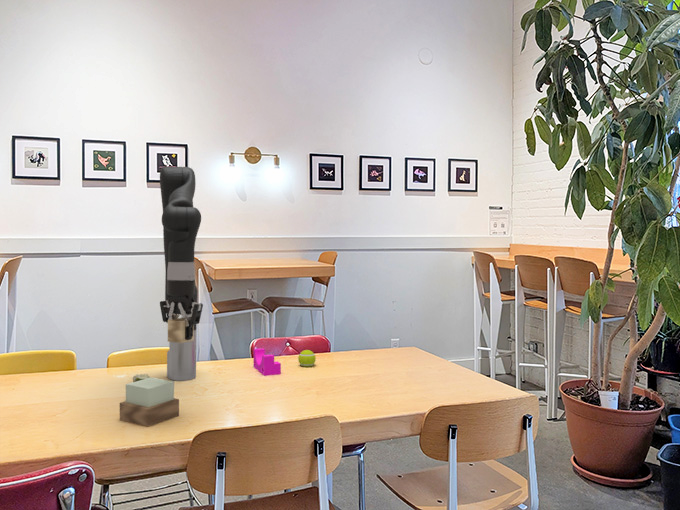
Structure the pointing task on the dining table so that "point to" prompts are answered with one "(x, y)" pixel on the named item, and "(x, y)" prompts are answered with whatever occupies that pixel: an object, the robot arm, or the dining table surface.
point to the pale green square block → (149, 392)
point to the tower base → (149, 412)
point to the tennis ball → (306, 358)
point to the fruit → (140, 377)
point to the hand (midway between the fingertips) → (180, 338)
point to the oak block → (177, 331)
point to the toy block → (266, 363)
